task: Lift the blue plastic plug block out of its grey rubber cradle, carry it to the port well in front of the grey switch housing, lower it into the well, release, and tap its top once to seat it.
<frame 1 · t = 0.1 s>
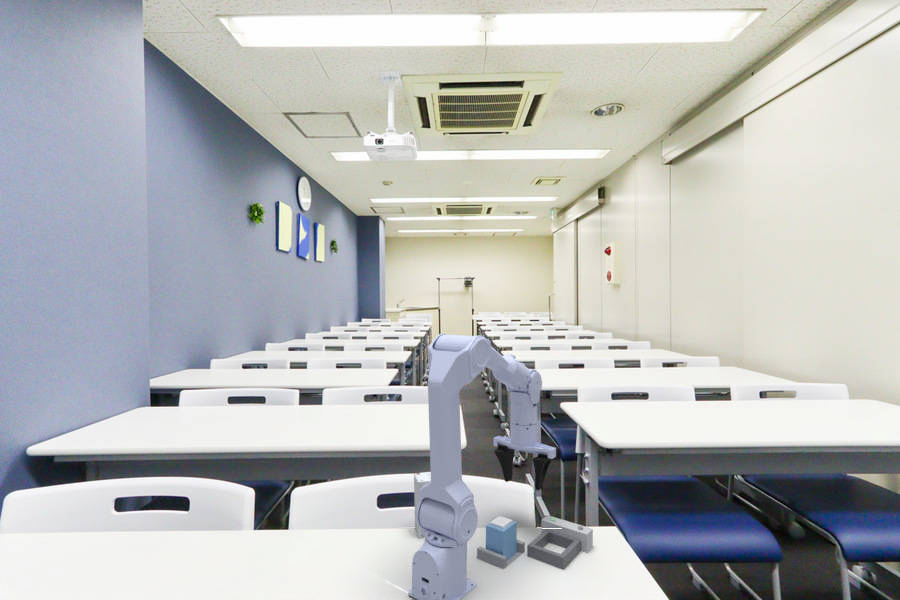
hand: (523, 484, 101), 10 cm above the table, fingers open, 7 cm apart
plug: (501, 554, 90), resting on holster
holster: (501, 556, 90), on the table
skincare box: (425, 533, 99), on the table
port: (554, 555, 90), on the table
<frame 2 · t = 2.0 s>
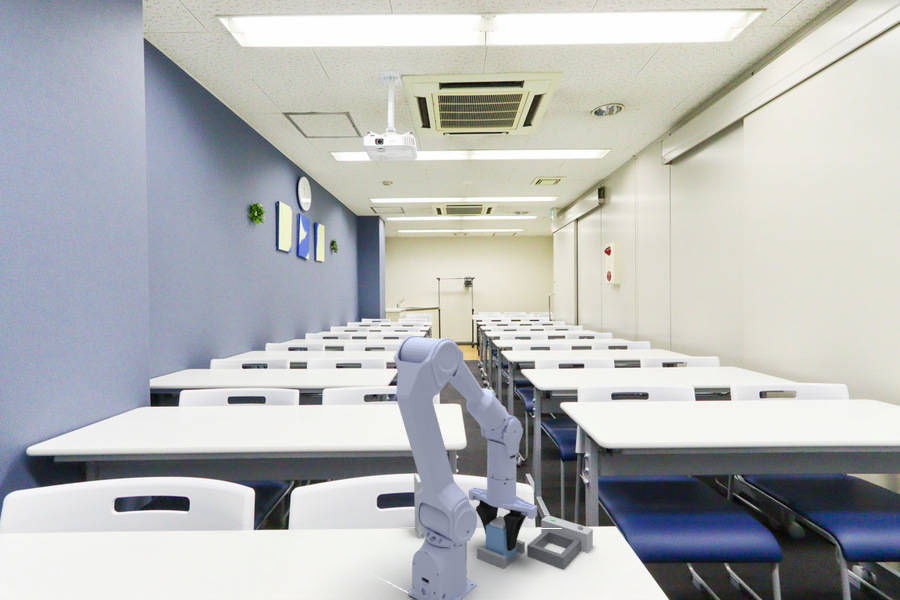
hand: (501, 544, 90), 2 cm above the table, fingers closed on plug, 4 cm apart
plug: (501, 554, 90), resting on holster, touching gripper
everything else where it was.
when the fingers open (4 cm above the table, at t = 4.9 s): plug drops 1 cm, resting on port.
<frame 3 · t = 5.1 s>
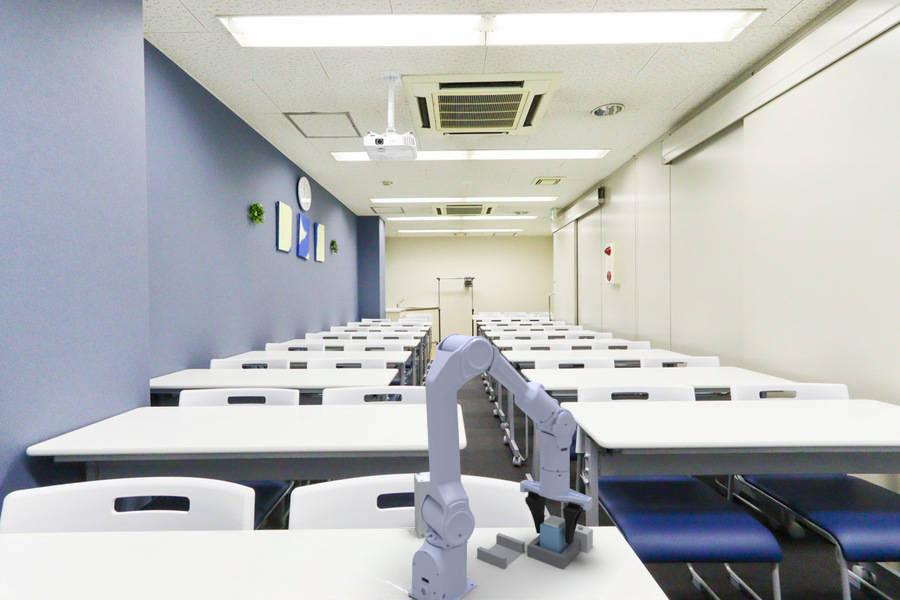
hand: (554, 536, 90), 4 cm above the table, fingers open, 6 cm apart
plug: (554, 553, 91), resting on port
everything else where it was.
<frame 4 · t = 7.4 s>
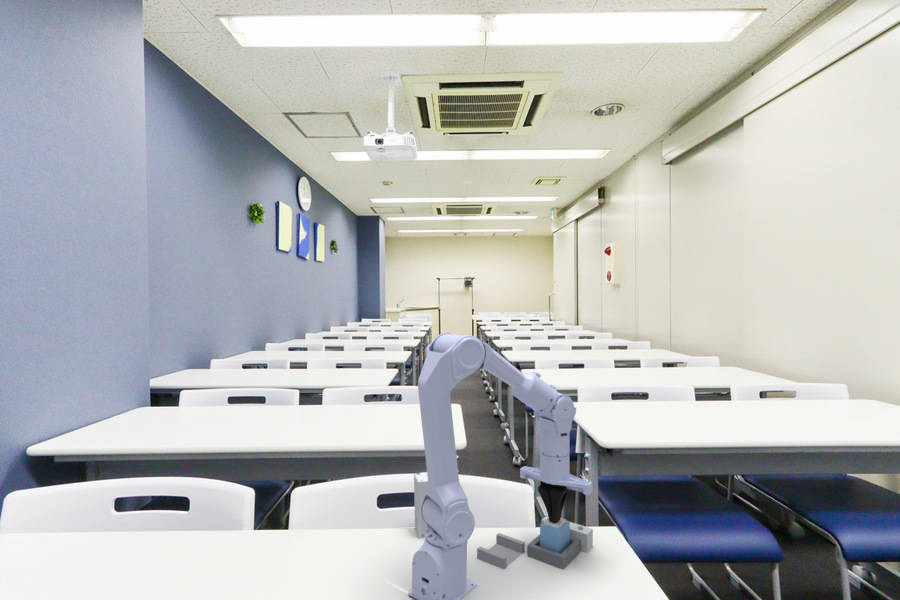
hand: (554, 521, 91), 7 cm above the table, fingers closed, pressing on plug
plug: (554, 553, 91), resting on port, touching gripper
everything else where it was.
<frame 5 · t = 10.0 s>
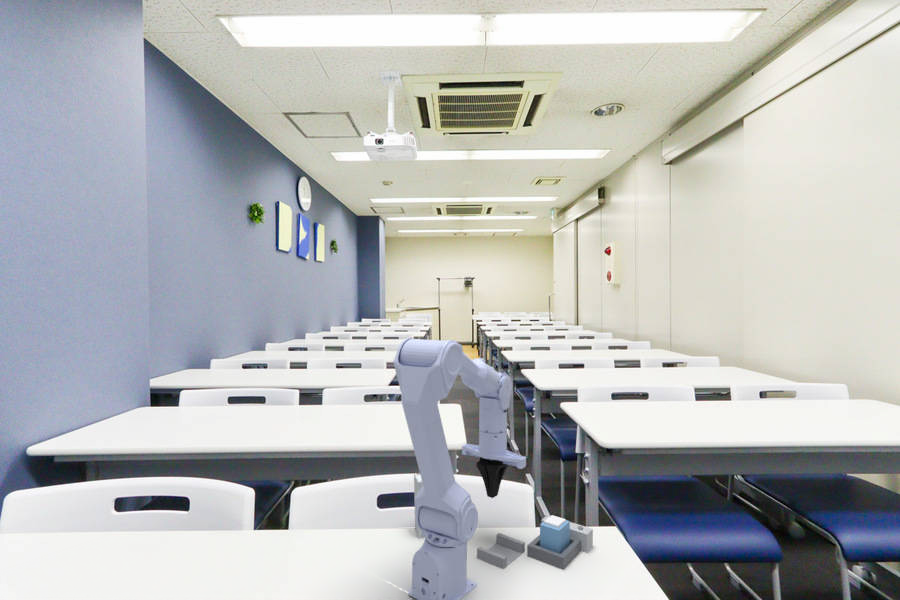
hand: (492, 495, 95), 10 cm above the table, fingers closed
plug: (554, 553, 91), resting on port
everything else where it was.
at the end: plug 0.2 cm off-centre on the port, point 0.3 cm above the port's base; plug tilted 0°; the gripper is holding nothing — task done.
